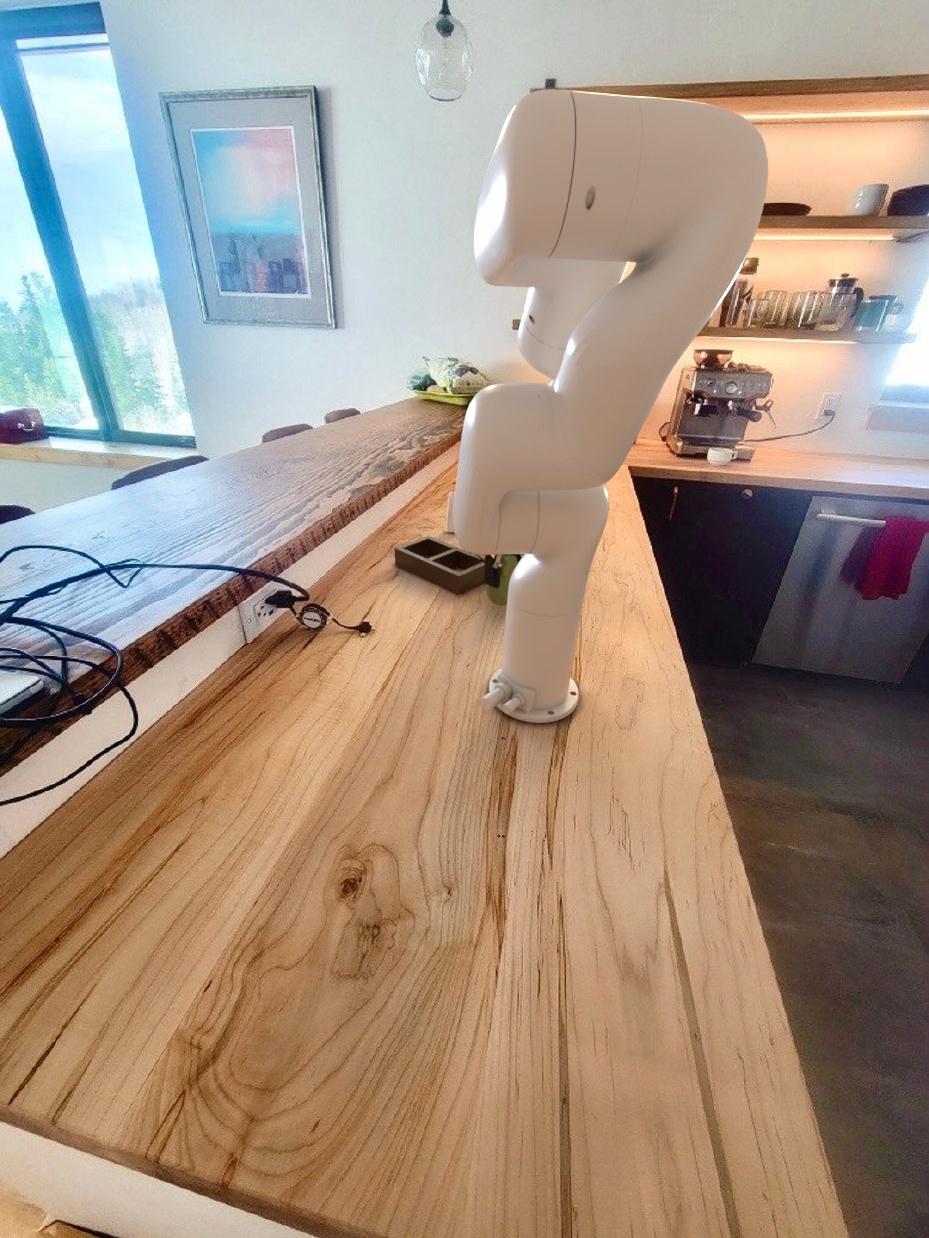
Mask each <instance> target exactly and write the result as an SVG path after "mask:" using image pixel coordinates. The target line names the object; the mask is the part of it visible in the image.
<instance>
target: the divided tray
mask: <svg viewBox="0 0 929 1238" xmlns="http://www.w3.org/2000/svg"><path fill="white" fill-rule="evenodd" d="M393 549H394V550H393V551H394V566H396V567H398V568H400V569H402V570H404V571H407V572H409V573H411V574H413V575H414V576H417V577H419V578H421V579H423V580H426V581H428V582H429V583H432V584H434V585H436V586H439V587H440V588H443V589H445V590H447V591H449V592H451V593H453V594H456V595H457V596H460V595H462V594H463V593H466V592H468V591H470V590H472V589H474V588H476V587H478V586H480V585H482V584H485V583H484V571H485V564H483V562H482V560H481V559H480V558H479V557H478V556H476V555H475V554H474V553H470V552H468V551H466V550H465V549H464V548H460V547H458V546H455V545H452V544H450V543H447V542H445V541H443V540H440V539H437V538H434V537H433V536H430V535H427V536H424V537H421V538H419V539H415V540H413V541H411V542H408V543H405V544H402V545H399V546H396V547H394V548H393ZM428 556H429V558H426V557H428ZM454 569H459V570H461V571H459V572H458V571H457V570H454Z"/></svg>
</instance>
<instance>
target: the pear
mask: <svg viewBox="0 0 929 1238" xmlns="http://www.w3.org/2000/svg"><path fill="white" fill-rule="evenodd" d="M516 566H517V558H516V556H513V555H512V554H502V556H501V560H500V563H499V567H501V579H500V587H499V588H494V587H492V586H489V585H487V584H486V588H485V589H486V596H487V598H488V599H489V601H490V602H491V603H493V604H494V605H497V606H507V598H508V587H509V581H510V578H511V575H512V573H513V571H514V569H515V567H516Z"/></svg>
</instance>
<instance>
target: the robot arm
mask: <svg viewBox="0 0 929 1238" xmlns="http://www.w3.org/2000/svg"><path fill="white" fill-rule="evenodd" d="M486 169H487V170H486V173H485V174H484V175H485V176H484V178H483V181H482V186H481V189H480V193H479V198H478V202H477V208H476V213H475V221H474V229H473V231H474V232H473V252H474V260H475V265H476V270H477V273H478V274H479V276H480V278H481V279H482V280H483V282H485V283H486V284H487V285H490V286H494V287H508V288H509V287H510V288H528V289H527V292H526V297H525V301H524V305H523V309H522V313H521V319H520V322H519V326H518V330H517V347H518V349H519V353H520V354H521V357H523V359H524V360H525V362H526V363H527V364H528V365H529V366H530V367H531V368H532V369H534V370H535V371H537V372H538V373H540V374H542V375H544V376H546V377H547V378H549V379H551V380H550V381H548V382H547V381H546V382H538V383H536V382H532V383H531V382H530V383H529V382H527V383H526V382H525V383H524V382H503V383H502V382H501V383H495V384H490V385H487V386H485V387H484V388H481V390H479V391H478V392H477V393H476V394H475V395H474V396H473V398H472V399H471V401H470V403H469V404H468V407H467V410H466V413H465V416H464V421H463V424H462V425H463V427H462V431H461V437H460V438H461V439H460V445H459V453H458V454H459V455H458V462H457V472H456V479H455V487H454V493H453V497H454V503H453V526H454V532H453V533H454V536H455V539H456V540H457V542H458V544H459V545H460V546H461V548H462V549H463V550H465V551H468V552H470V553H473V554H475V555H476V556H478V557H479V558H480V559H481V560H482V562H483V564H485V571H484V583H483V584H485V585H486V586H487V585H489V586H492V587H494V588H499V587H500V579H501V567H499V563H500V560H501V556H502V554H512V555H513V556H516V558H517V566H516V567H515V569H514V571H513V573H512V575H511V578H510V581H509V587H508V598H507V605H506V610H505V611H506V612H505V621H504V633H503V644H502V645H503V646H502V657H501V658H502V660H501V667H500V668H498V669H497V670H496V671H495V672H494V673H493V674H492V675H491V677H490V679H489V683H488V693H487V694H485V695H484V696H482V697H481V698H480V699H479V705H480V707H481V708H482V709H483V710H484V711H485V712H489V711H491V710H493V709H494V708H495V707H496V708H497V709H498V710H499V711H500V712H502V713H503V714H505V715H507V716H509V717H510V718H514V719H515V720H519V721H523V722H527V723H534V724H547V723H552V722H557V721H559V720H562V719H564V718H567V717H568V716H570V715H571V714H572V713H573V712H574V711H575V709H576V708H577V705H578V702H579V697H580V693H579V688H578V686H577V683H576V682H575V680H573V678H572V677H571V676H572V671H573V665H574V659H575V653H576V649H577V643H578V642H577V641H578V636H579V631H580V626H581V625H580V624H581V618H582V613H583V608H584V603H585V598H586V597H585V596H586V592H587V587H588V586H587V585H588V581H589V576H590V572H591V568H592V565H593V562H594V557H595V555H596V552H597V549H598V547H599V544H600V541H601V539H602V536H603V534H604V532H605V531H604V530H605V528H606V525H607V523H608V522H607V521H608V516H609V511H610V497H609V492H608V490H607V488H606V486H605V484H606V483H608V482H610V481H611V479H613V478H614V477H615V475H616V474H617V472H618V471H619V470H620V469H621V467H622V465H623V464H624V462H625V460H626V458H627V457H628V455H629V453H630V452H631V449H632V448H633V446H634V443H635V442H636V440H637V438H638V436H639V434H640V432H641V430H642V429H643V426H644V425H645V423H646V421H647V418H648V416H649V415H650V413H651V411H652V409H653V407H654V405H655V404H656V401H657V399H658V397H659V395H660V393H661V391H662V389H663V387H664V385H665V383H666V381H667V379H668V377H669V376H670V374H671V372H672V371H673V369H674V367H675V366H676V365H677V363H678V362H679V361H680V359H681V357H682V356H683V355H684V354H685V352H686V351H687V349H688V348H689V346H690V345H691V344H692V343H693V341H694V340H695V338H696V337H697V336H698V335H699V334H700V332H701V331H702V329H703V328H704V327H705V326H706V324H707V323H708V322H709V320H710V319H711V318H712V316H713V315H714V313H715V312H716V311H717V309H718V308H719V306H720V305H721V303H722V302H723V300H724V299H725V297H726V296H727V294H728V293H729V291H730V289H731V287H732V286H733V284H734V282H735V281H736V279H737V277H738V275H739V273H740V272H741V269H742V268H743V266H744V264H745V262H746V259H747V257H748V254H749V253H750V250H751V247H752V245H753V242H754V240H755V237H756V234H757V231H758V228H759V225H760V221H761V217H762V214H763V211H764V205H765V200H766V195H767V190H768V180H769V157H768V151H767V145H766V143H765V141H764V138H763V135H762V134H761V132H760V131H759V130H758V129H757V127H756V125H754V124H753V123H752V122H751V121H749V120H747V119H746V118H745V117H744V116H742V115H741V114H738V113H736V112H734V111H732V110H730V109H727V108H725V107H722V106H718V105H714V104H709V103H705V102H699V101H695V100H687V99H678V98H666V97H656V96H639V95H624V94H614V93H613V94H611V93H602V92H591V91H581V90H580V91H579V90H570V89H569V90H567V89H541V90H536V91H532V92H529V93H527V94H526V95H524V96H523V97H521V98H520V99H519V100H518V101H517V102H516V103H515V105H514V106H513V107H512V108H511V110H510V112H509V114H508V115H507V117H506V120H505V121H504V124H503V127H502V130H501V132H500V135H499V137H498V140H497V143H496V146H495V148H494V150H493V153H492V156H491V159H490V160H489V164H488V167H487V168H486ZM630 263H635V265H634V268H633V269H632V271H631V272H630V274H628V275H627V276H626V277H625V278H624V276H625V274H626V272H627V269H628V267H629V264H630ZM524 554H525V555H524ZM523 555H524V556H523ZM521 556H523V557H521Z"/></svg>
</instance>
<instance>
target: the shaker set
mask: <svg viewBox="0 0 929 1238" xmlns="http://www.w3.org/2000/svg"><path fill="white" fill-rule="evenodd" d="M453 503H454V493H453V491H449V493H448V500H447V508H446V510H447V511H446V523H445V533H446V534H447V533H455V532H454V526H453Z"/></svg>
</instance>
